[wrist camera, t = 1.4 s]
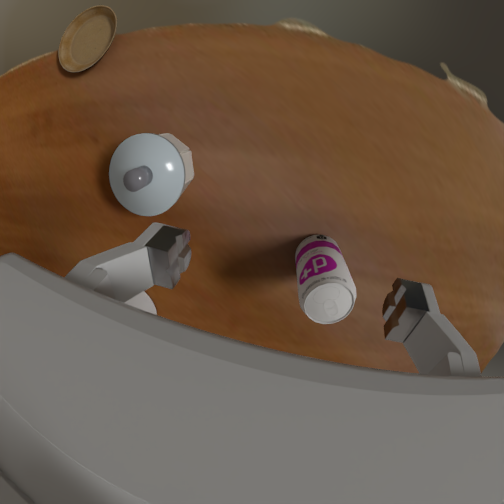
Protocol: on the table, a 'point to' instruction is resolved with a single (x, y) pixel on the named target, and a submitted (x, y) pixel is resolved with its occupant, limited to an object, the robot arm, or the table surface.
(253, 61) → the table surface
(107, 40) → the plant saucer
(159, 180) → the lid
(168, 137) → the bowl
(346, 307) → the supplement can
